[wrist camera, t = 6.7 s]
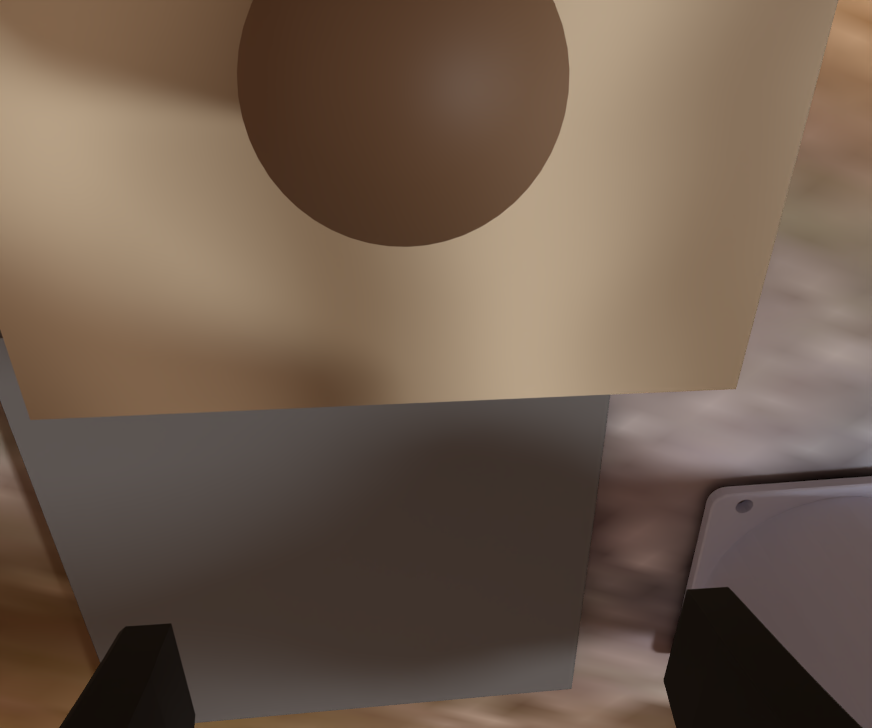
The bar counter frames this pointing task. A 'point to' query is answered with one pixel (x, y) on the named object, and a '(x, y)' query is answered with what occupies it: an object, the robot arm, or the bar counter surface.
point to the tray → (330, 543)
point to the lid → (390, 197)
